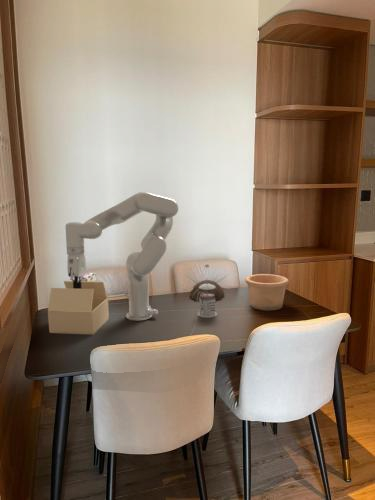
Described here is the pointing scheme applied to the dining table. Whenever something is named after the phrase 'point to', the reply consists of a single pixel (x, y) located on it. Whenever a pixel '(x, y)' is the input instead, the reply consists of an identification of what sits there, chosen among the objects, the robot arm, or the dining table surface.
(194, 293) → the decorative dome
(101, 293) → the back flap
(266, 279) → the pottery
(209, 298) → the french press
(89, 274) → the candy bar box
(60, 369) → the dining table surface
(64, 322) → the carton
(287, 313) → the dining table surface
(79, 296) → the front flap
